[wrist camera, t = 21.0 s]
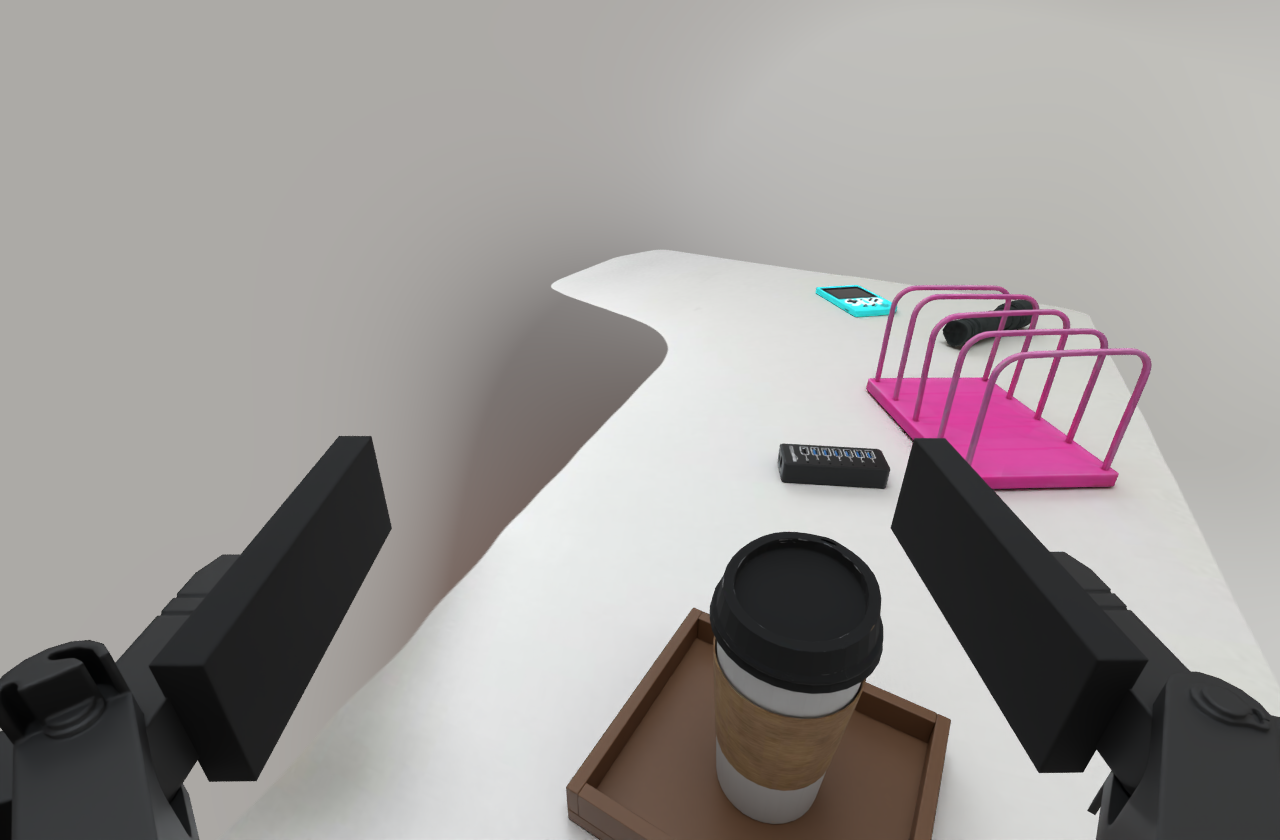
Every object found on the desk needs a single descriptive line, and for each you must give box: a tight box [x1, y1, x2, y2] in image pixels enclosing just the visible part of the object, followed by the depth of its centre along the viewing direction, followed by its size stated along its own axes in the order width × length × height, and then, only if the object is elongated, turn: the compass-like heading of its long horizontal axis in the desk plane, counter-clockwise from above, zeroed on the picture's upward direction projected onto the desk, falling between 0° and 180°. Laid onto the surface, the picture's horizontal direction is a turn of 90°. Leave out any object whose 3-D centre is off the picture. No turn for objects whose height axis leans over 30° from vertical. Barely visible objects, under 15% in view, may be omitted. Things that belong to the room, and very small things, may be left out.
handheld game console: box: [816, 285, 897, 317], centre depth 122 cm, size 10×16×1 cm, turn 13°
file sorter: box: [866, 285, 1151, 489], centre depth 72 cm, size 17×25×16 cm
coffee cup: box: [710, 532, 883, 824], centre depth 33 cm, size 8×8×15 cm
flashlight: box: [943, 300, 1033, 346], centre depth 105 cm, size 5×21×5 cm, turn 123°
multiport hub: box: [778, 444, 890, 488], centre depth 66 cm, size 4×11×2 cm, turn 85°
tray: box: [566, 608, 951, 840], centre depth 36 cm, size 18×16×3 cm
